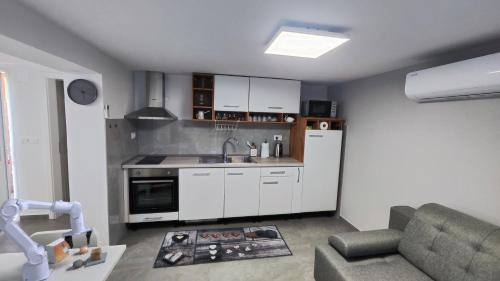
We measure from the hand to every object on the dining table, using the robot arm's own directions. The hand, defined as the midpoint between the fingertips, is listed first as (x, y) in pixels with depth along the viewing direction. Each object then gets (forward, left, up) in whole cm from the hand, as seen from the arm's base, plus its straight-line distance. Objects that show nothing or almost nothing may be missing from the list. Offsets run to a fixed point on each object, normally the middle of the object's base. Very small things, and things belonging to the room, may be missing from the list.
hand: (80, 245), depth 126 cm
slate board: (+8, -3, -9) cm, 12 cm away
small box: (-13, +9, -10) cm, 19 cm away
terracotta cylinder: (-1, +9, -10) cm, 13 cm away
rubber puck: (-1, -5, -10) cm, 11 cm away
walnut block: (+8, -3, -9) cm, 12 cm away
